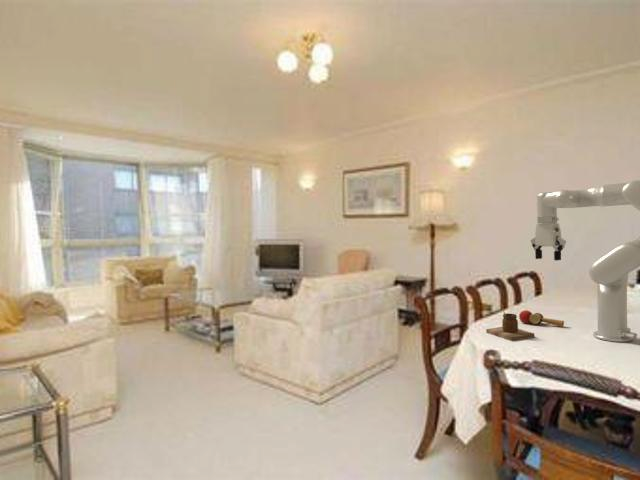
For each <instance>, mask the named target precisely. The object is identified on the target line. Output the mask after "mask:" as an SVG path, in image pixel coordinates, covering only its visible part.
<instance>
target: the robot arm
mask: <svg viewBox="0 0 640 480" xmlns="http://www.w3.org/2000/svg"><path fill="white" fill-rule="evenodd" d="M629 205H631V206H632V207H634V208H635V209H636V210H638V211H640V179H637V180H632V181H629V182H619V183H611V184H603V185H600V186H597V187H594V188H587V189H578V190H576V189H575V190H568V189H566V190H565V189H562V190H558V191H548V192H547V191H546V192H539V193H537V195H536V214H537V216H536V217H537V222H536V225H535V234H534V237H533V238H532V239H530V243H531V247H532V248H533V250H534V251H535V259H536V260H537V259H538V260H542V259H543V249H542V248H543V247H552V248H553V249H554V251H553V259H554V261H562V251H563V249H564V248H565V246H566V244H567V241H566V239H563V238H562V231H561V226H560V223H558V221H559V217H558V212H557V211H558V210H557V209H575V208H589V207H591V208H592V207H601V208H602V207H614V206H616V207H617V206H629ZM638 268H640V236H639V237H638V238H636V239H635V240H632V241H629V242H625V243H622V244H620V245H618V246H617V247H615V248H614V249H612V250H610V251H609V252H608V253H606V254H605V255H603V256H602V257H601V258H599V259H597V260H596V261H594V262H593V263H592V264H591V265H590V267H589V269H588V275H589V277H590V279H591V280H592V282H594V283H596V284H597V290H596V291H597V293H596V294H597V296H596V297H597V298H596V299H597V300H596V301H597V309H596V310H597V330H596V331H593V332H592V333H593V337H594V338H596V339H599V340H603V341H609V342H616V343H617V342H618V343H621V342H622V343H626V342H627V343H628V342H631V341H633V340H636V339H637V337H638V333H637V332H632V331H631V328H630V327H628V280H629V273H632V272H633V271H634V270H635V271H636V269H638Z"/></svg>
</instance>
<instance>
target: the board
mask: <svg viewBox="0 0 640 480" xmlns="http://www.w3.org/2000/svg"><path fill="white" fill-rule="evenodd" d="M485 333H487V334H490V335H493V336H495V337H498V338H501V339H504V340H506V341H507V340H508V341H510V342H512V341H519V340H524V339H525V340H526V339H530V338H535V333H534V332H531V331H527V330H524V329H520V328H518V332H516V333H508V332H504V331H503V327H502V326H498V327H493V328H492V327H491V328H486V332H485Z"/></svg>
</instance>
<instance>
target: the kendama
mask: <svg viewBox="0 0 640 480" xmlns="http://www.w3.org/2000/svg"><path fill="white" fill-rule="evenodd" d="M518 317H519V321H520V322H521V323H522V324H527V323H529V324H534V325H536V324H541V323H545V324H548V325H553V326H556V327H560V328H564V325H565V321H564V320H559V319H553V318H548V317H544V315H543V314H541V313H540V312H535V313H532V312H531V311H530V310H522V311H520V312H519V315H518Z"/></svg>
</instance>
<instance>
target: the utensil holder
mask: <svg viewBox="0 0 640 480" xmlns="http://www.w3.org/2000/svg"><path fill="white" fill-rule="evenodd" d="M500 303H501V308H502V311H503V314H502V317H503V318H502V320H501V321H502V326H501V327H503V331H504V332H508V333H516V332H518V329H519V322H518V319H517V318H518V316H517V314H516V313H517V312H518V309H519V308H518V307H516V304H515V305H512V307H511V311H514V309H515V313H505V309H504V306H503V304H502V302H500ZM513 308H514V309H513Z"/></svg>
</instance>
